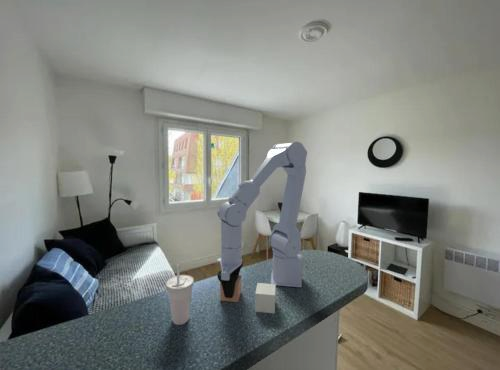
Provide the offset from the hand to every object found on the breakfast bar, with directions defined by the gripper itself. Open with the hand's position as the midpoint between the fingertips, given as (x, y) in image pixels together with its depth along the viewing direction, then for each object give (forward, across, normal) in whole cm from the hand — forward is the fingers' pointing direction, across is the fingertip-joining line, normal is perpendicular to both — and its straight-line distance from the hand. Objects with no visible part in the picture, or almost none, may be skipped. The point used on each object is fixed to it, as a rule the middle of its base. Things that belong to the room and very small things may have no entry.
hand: (231, 291), depth 63 cm
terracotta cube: (+1, 0, 0) cm, 1 cm away
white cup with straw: (+2, +11, -10) cm, 15 cm away
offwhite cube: (+2, +3, +10) cm, 11 cm away
